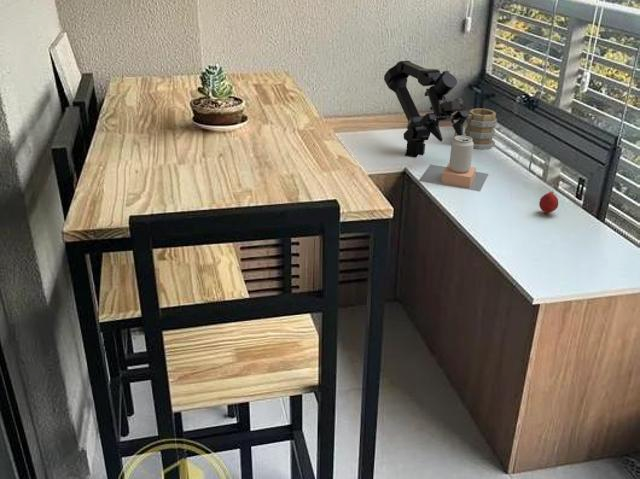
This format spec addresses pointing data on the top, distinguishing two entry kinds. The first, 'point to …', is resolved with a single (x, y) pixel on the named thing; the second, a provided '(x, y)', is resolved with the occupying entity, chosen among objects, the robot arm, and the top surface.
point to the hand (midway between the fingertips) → (451, 139)
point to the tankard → (481, 127)
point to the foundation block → (458, 177)
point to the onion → (548, 202)
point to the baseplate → (435, 177)
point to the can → (461, 154)
